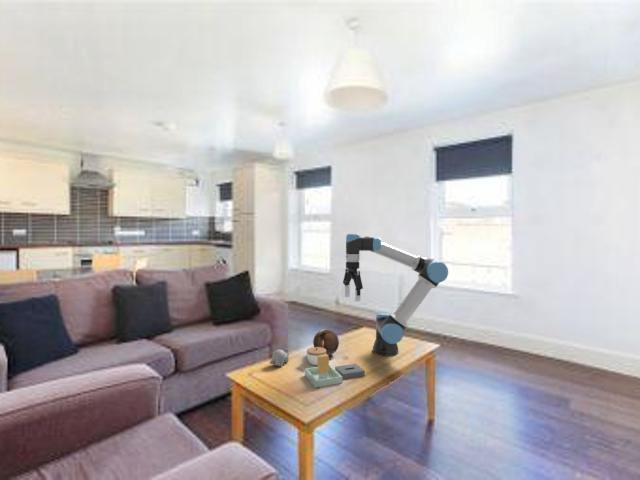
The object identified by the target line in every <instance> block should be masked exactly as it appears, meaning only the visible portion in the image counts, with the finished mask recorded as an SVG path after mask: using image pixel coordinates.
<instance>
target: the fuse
mask: <svg viewBox="0 0 640 480" xmlns="http://www.w3.org/2000/svg"><path fill="white" fill-rule="evenodd" d="M329 365H330V355H329V356H328V355H327V354H324V355H318V356H317V365H316V367H317V371H318V372H319V380H320V379H326V378H328V372H329Z"/></svg>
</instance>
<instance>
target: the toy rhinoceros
mask: <svg viewBox="0 0 640 480" xmlns="http://www.w3.org/2000/svg"><path fill="white" fill-rule="evenodd" d="M289 355H290V354H289V353H286V352H285V351H284V350H282V349H280V348H279V349H276V350H274V351H273V353H272V357H271V359H270V361H269V364H270V365H272V366H273V365H275V366H277V367H280V368H281V367H283V365H284V363H288V362H289V359H290V356H289Z"/></svg>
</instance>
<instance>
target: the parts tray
mask: <svg viewBox="0 0 640 480" xmlns="http://www.w3.org/2000/svg"><path fill="white" fill-rule="evenodd" d="M304 376H305V378H306V379H308V381H309V382H310V383H311V384H312V386H313V387H314V388H315V389H320V388H321V387H326V386H331V385H338V384H342V383H343V379H342V376H341V375H340V374H339V373H338V372H337V371H336V370H335V367H332V366H331V364H329V372H328V378H326V379H320V380H319V372H318V371H317V366H315V367H314V366H313V367H306V368H304Z"/></svg>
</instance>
